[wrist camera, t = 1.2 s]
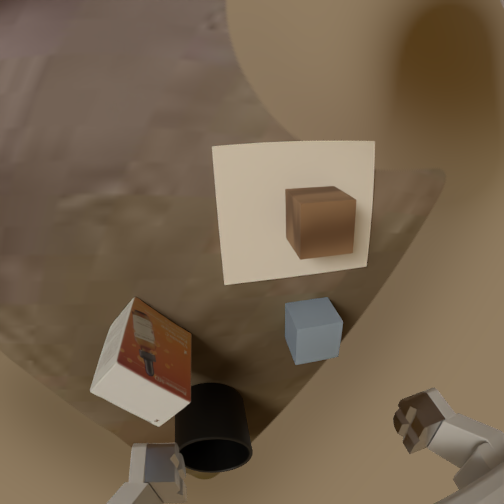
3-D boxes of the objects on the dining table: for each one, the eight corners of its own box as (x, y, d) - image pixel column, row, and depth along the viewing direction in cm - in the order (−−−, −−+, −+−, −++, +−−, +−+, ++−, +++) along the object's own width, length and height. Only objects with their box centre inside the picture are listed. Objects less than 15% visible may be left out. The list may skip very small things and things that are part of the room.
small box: (192, 332, 36) (194, 403, 26) (164, 359, 37) (160, 429, 28) (134, 294, 33) (116, 361, 23) (108, 325, 34) (88, 392, 24)
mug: (152, 414, 41) (150, 465, 33) (203, 371, 39) (207, 428, 31) (203, 436, 45) (207, 484, 37) (256, 398, 42) (268, 450, 34)
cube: (285, 302, 36) (296, 329, 32) (327, 296, 37) (343, 321, 32) (284, 337, 38) (295, 364, 34) (324, 330, 39) (338, 356, 34)
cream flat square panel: (212, 146, 28) (212, 146, 28) (373, 141, 30) (375, 141, 30) (224, 283, 34) (224, 285, 34) (365, 265, 36) (366, 266, 35)
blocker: (285, 189, 30) (300, 203, 26) (334, 186, 31) (356, 199, 26) (285, 237, 32) (300, 259, 28) (332, 233, 33) (352, 253, 29)
